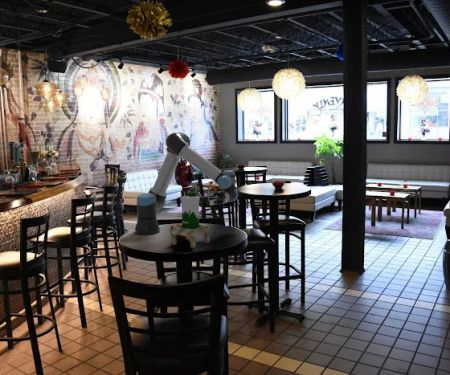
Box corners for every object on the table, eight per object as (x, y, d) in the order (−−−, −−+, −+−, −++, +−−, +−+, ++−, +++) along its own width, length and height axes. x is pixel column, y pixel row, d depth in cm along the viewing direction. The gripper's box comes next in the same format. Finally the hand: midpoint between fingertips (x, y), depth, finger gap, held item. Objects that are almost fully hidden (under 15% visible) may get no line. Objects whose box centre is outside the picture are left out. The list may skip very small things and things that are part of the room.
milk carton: (202, 228, 253) (201, 192, 251) (190, 231, 247) (189, 194, 244) (190, 226, 259) (190, 191, 257) (179, 229, 252) (178, 193, 250)
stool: (170, 244, 251) (169, 227, 250) (187, 238, 265) (187, 222, 264) (193, 248, 243) (193, 230, 242) (210, 241, 256) (210, 225, 255)
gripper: (238, 205, 271) (218, 210, 254) (203, 202, 285) (182, 206, 267) (238, 192, 271) (218, 197, 253) (203, 190, 284) (182, 194, 266)
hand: (200, 202), depth 260 cm, fingers open, 13 cm apart
